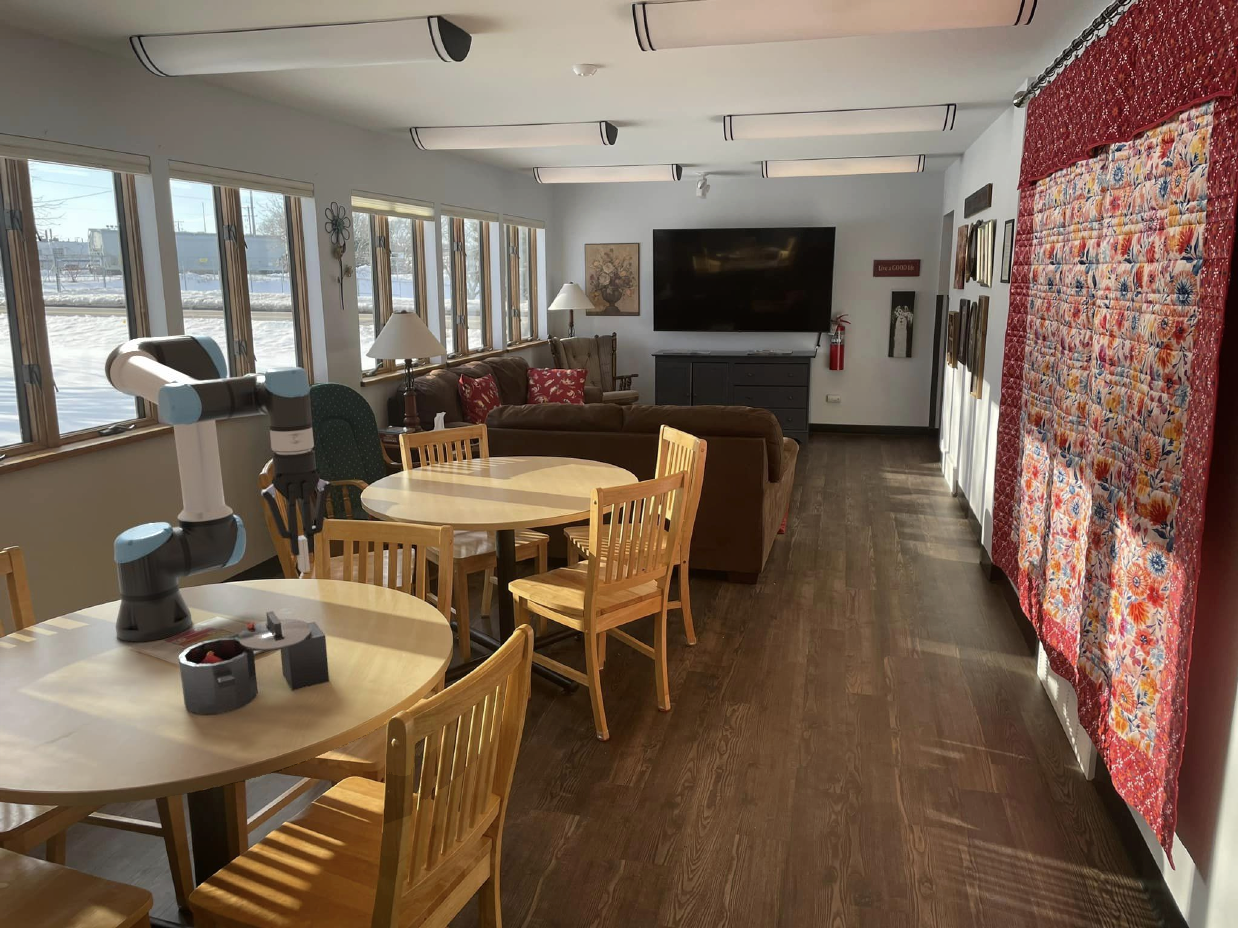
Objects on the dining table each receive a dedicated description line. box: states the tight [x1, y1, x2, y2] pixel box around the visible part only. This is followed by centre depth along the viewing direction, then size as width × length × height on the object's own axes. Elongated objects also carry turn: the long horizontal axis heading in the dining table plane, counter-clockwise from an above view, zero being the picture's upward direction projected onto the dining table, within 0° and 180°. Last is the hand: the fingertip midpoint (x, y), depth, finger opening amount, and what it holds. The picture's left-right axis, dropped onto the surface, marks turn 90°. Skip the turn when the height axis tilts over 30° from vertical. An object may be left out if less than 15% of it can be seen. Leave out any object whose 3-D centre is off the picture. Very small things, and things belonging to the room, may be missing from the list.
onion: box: [200, 651, 223, 664], centre depth 169 cm, size 6×6×8 cm
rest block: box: [279, 621, 330, 691], centre depth 176 cm, size 8×7×10 cm
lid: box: [237, 610, 311, 652], centre depth 172 cm, size 13×13×4 cm
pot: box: [178, 637, 259, 716], centre depth 168 cm, size 21×12×10 cm, turn 32°
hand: (304, 569), depth 173 cm, fingers closed
